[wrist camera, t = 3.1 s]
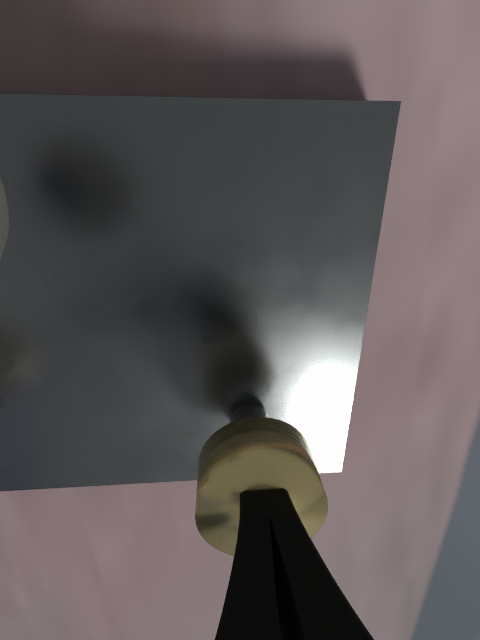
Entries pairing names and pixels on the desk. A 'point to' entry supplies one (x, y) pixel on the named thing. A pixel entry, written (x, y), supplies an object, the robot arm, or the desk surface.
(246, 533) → the robot arm
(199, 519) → the outer brass knob
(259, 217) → the plate
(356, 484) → the desk surface
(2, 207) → the middle white knob
